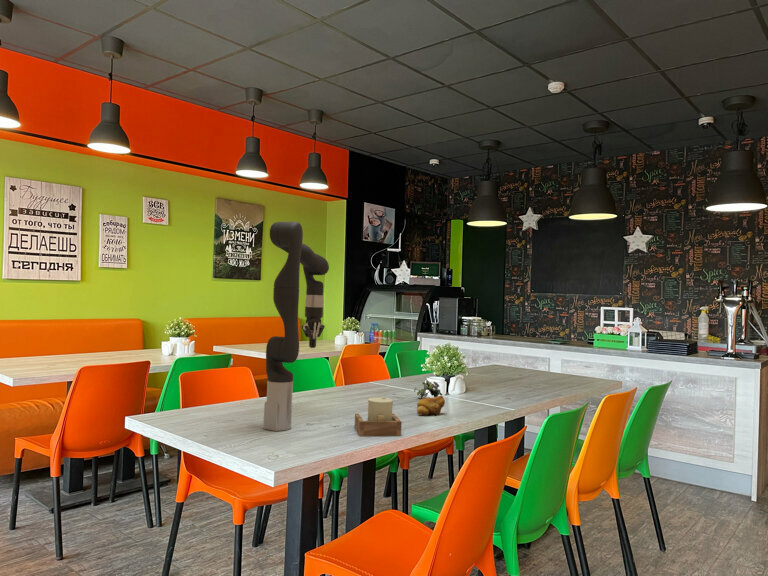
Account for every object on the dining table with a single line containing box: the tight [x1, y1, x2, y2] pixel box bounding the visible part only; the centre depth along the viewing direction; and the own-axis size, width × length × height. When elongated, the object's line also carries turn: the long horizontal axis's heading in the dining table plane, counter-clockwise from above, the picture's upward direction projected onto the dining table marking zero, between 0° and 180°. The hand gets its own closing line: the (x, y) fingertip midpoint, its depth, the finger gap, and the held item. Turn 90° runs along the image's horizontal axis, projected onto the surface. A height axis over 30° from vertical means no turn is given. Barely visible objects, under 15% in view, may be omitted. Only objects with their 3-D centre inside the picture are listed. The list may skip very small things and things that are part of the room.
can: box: [367, 397, 394, 421], centre depth 203 cm, size 9×9×12 cm
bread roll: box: [416, 395, 446, 416], centre depth 237 cm, size 13×10×8 cm
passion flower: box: [413, 379, 443, 399], centre depth 269 cm, size 11×11×12 cm
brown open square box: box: [354, 413, 403, 437], centre depth 202 cm, size 14×15×7 cm
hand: (312, 347), depth 230 cm, fingers closed
